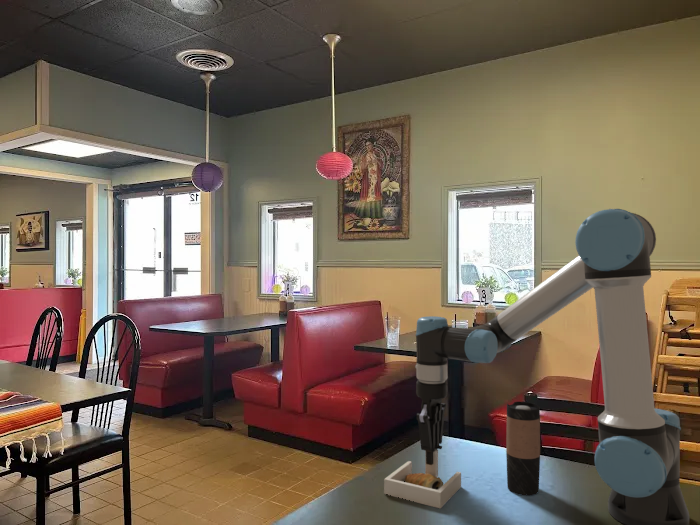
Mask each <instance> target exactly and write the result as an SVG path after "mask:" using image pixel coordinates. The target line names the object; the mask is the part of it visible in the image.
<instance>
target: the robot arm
mask: <svg viewBox="0 0 700 525" xmlns="http://www.w3.org/2000/svg"><path fill="white" fill-rule="evenodd" d="M656 234H657V233H656V232H655V229H654V227H653V225H652V224H651V223H650V221H649V220H648V219H646V218H645V217H643V216H641V215H640V214H637V213H636V212H635V213H634V212H631V211H629V210H625V209H620V208H609V209H602V210H598V211H596V212H594V213H592V214H590V215H589V216H587V217H586V218H585V219H584V220H583V221H582V223H581V224H580V225H579V227H578V229H577V232H576V234H575V242H574V243H575V249H576V252H577V256H576V257H574V258H573V259H572V260H570V261H569V262H567V264H565V265H564V266H562V267H561V268H559V269H558V270H556V271H555V272H554V273H553V274H552V275H550V276H549V277H547V278H546V279H544V280H543V281H542V282H540V284H538V285H536V286H535V287H534V288H532V289H531V290H530V291H528V292H527V293H526V294H524V295H523V296H521V297H520V298H519V299H517V300H515V302H513V303H512V304H511V305H509V306H507V308H505V309H504V310H502V311H501V312H500V313H498V314H497V315H496V316H494V317H493V318H492V319H490V320H489V321H487V322H486V323H484V324H481V325H476V326H473V327H469V328H467V327H466V328H465V327H453V326H449V324H448V319H447V318H445V317H441V316H433V315H431V316H421V317H419V318H418V319H417V321H416V332H415V337H416V339H415V340H416V341H415V342H416V345H415V346H416V364H415V366H414V368H415V369H416V373H415V374H416V375H415V376H416V379H417V381H416V382H415V383H416V386H415V388H416V390H415V394H416V396H417V397H418V398H420V399H421V400H422V401H421V405H420V408H421V409H420V411H421V412H420V413H416V420H417V423H418V431H419V434H418V435H419V440H420V441H419V442H420V443H419V444H420V449H421V450H422V451H425V455H424V458H425V460H424V461H425V469H424V472H425V473H424V474H426V473H427V474H431V475H433V476H435V477H437V478H438V477H439V450H442V448H443V446H442V445H441V444H442V443H443V433H444V422H445V412H446V407H447V404H446V403H444V402H442V401H443V399H446V398H447V396H448V382H447V380H448V378H449V377H448V359H449V360H450V359H451V360H458V361H466V362H470V363H471V362H472V363H474V364H479V363H480V364H490V363H492V362H493V361H494V359H495V358H496V357H497V354H499V353H503V352H504V351H506V350H507V349H509V348H510V347H511V346H512V345H513V343H514V342H516V341H517V340H519V339H520V338H521V337H523V336H524V335H527V333H529V332H530V331H532V330H533V329H535V328H536V327H538V326H539V325H540V324H542V323H543V322H545V321H546V320H548V319H549V318H550V317H552V316H554V315H555V314H557V313H559V311H561V310H562V309H565V307H567V306H568V305H570V304H571V303H572V302H574V301H576V300H577V299H578V298H580V297H581V296H583V295H584V294H586V293H587V292H589V291H590V290H592V289H594V298H595V309H596V321H597V322H596V323H597V333H598V344H599V356H600V365H601V366H600V367H601V378H602V390H603V400H604V410H603V412H601V413H600V414H599V415H598V416H597V426H598V441H599V443H598V445H597V446H596V448H595V451H594V466H595V469H596V473H598V475H599V477H600V479H601V481H602V482H604V484H606V485H607V486H608V487H609V488H610V489H611V490H610V493H609V496H608V500H607V509H608V510H607V511H608V513H609V514H610V515H611V517H613V518H614V519H615V520H616V521H618V522H620V523H622V524H623V525H690V513H689V510H688V506H687V503H686V502H685V498H684V495H683V492H682V488H681V486H680V472H681V471H680V464H681V463H680V459H681V457H680V456H681V455H680V452H681V451H680V444H681V442H680V440H681V438H680V431H681V430H682V427H681V424H680V417H679V415H677V414H676V413H674V412H672V411H669V410H665V409H661V408H655V399H654V388H653V387H654V386H653V378H652V369H651V368H652V366H651V365H652V364H651V355H650V344H649V336H648V333H649V332H648V323H647V314H646V303H645V301H646V300H645V292H644V291H645V290H644V286H645V284H646V283H647V282H648V281H649V280H650V279H651V278H652V269H651V268H652V267H651V256H652V254H654V253H653V252H654V250H655V248H656V245H657V244H656V243H657V236H656Z"/></svg>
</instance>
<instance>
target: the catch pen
mask: <svg viewBox="0 0 700 525" xmlns="http://www.w3.org/2000/svg"><path fill="white" fill-rule="evenodd" d="M409 474H413V462H412V461H410V460H408V461H406V462H405V463H404V464H402V465H401V466H400V467H398V468H397V469H395V470H394V471H393V472H392V473H390V474H389V475H388V476H386V477H385V478H384V479H383V483H384V484H383V488H384V489H383V494H384V495H386V494H388V495H387V496H390V495H391V497H394V498H398V497H399V499H402V498H403V500H405V499H406V501H409V500H410V502H413V501H414V503H418V504H422V505H425V506H429V507H432V508H433V507H434V508H436V509H442V508H443V507H444V506H445V505H446V503H447V502H449V500H450V499H451V498H452V497H453V496H455V494H456V493H457V492H458V490H460V489H461V488H462V472H461V471H456V472H455V473H454V474H453V475H452V476H451V477H450V478H449V479H448V480H447V481H446V482H444V483H443V486H442V487H441V488H440V489H439V490H436V489H431V488H427V487H423V486H419V485H415V484H411V483H407V482H404V481H405V477H406V476H407V475H409Z"/></svg>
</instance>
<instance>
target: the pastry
mask: <svg viewBox="0 0 700 525" xmlns="http://www.w3.org/2000/svg"><path fill="white" fill-rule="evenodd" d="M405 482H407V483H411V484H415V485H419V486H423V487H427V488H431V489H436V490H439V489H440V488H441V487H442V486H443V485H444V482H443V480H442V478H440V477H439V476H438V477H435V476H433V475H431V474H427V473H426V474H425V473H423V472H419V473H416V472H414V473H412V474H409V475H407V476H406V477H405Z"/></svg>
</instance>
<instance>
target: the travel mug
mask: <svg viewBox="0 0 700 525" xmlns="http://www.w3.org/2000/svg"><path fill="white" fill-rule="evenodd" d="M540 418H541V408H540V405H538V404H536V403H533V402H529V401H528V402H527V401H514V402H513V403H511V404H509V403H507V404H506V436H505V437H506V438H505V440H506V445H505V446H506V448H505V449H506V450H505V451H506V454H505V455H506V483H507V489H508V490H509V492H511V493H513V494H516V495H520V496H526V497H527V496H535V495H537V494H538V493H539V490H540V468H541V465H540V464H541V426H540V425H541V424H540V423H541V422H540V421H541V420H540Z"/></svg>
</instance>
